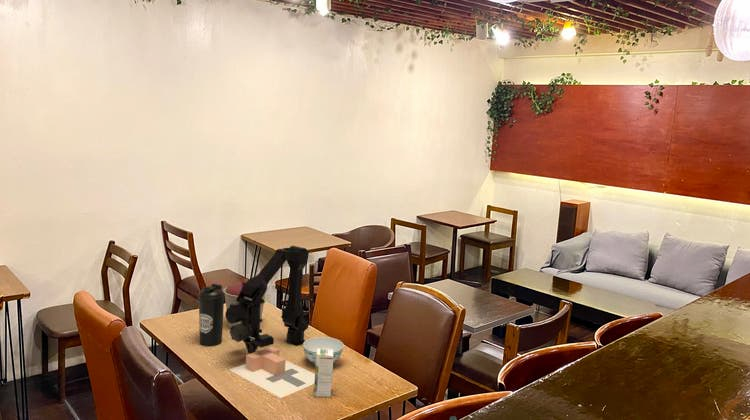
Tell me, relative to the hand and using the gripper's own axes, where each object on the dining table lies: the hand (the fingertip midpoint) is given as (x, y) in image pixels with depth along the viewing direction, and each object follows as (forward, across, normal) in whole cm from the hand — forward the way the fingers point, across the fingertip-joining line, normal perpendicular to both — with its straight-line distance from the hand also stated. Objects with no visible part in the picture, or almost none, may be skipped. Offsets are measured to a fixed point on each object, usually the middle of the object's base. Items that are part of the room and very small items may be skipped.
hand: (251, 356), depth 209 cm
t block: (+1, +11, 0) cm, 11 cm away
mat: (+2, +16, -1) cm, 16 cm away
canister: (+2, -29, +19) cm, 35 cm away
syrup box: (+2, +36, +2) cm, 36 cm away
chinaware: (+2, +20, +18) cm, 27 cm away
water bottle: (+2, -24, -1) cm, 24 cm away
